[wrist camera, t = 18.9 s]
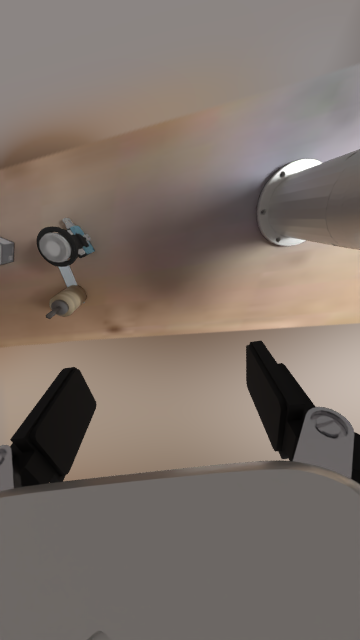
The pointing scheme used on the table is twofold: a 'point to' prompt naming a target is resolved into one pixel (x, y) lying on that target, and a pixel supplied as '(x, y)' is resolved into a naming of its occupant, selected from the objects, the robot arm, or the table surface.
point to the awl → (67, 301)
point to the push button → (63, 244)
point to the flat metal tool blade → (68, 276)
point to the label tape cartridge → (6, 251)
